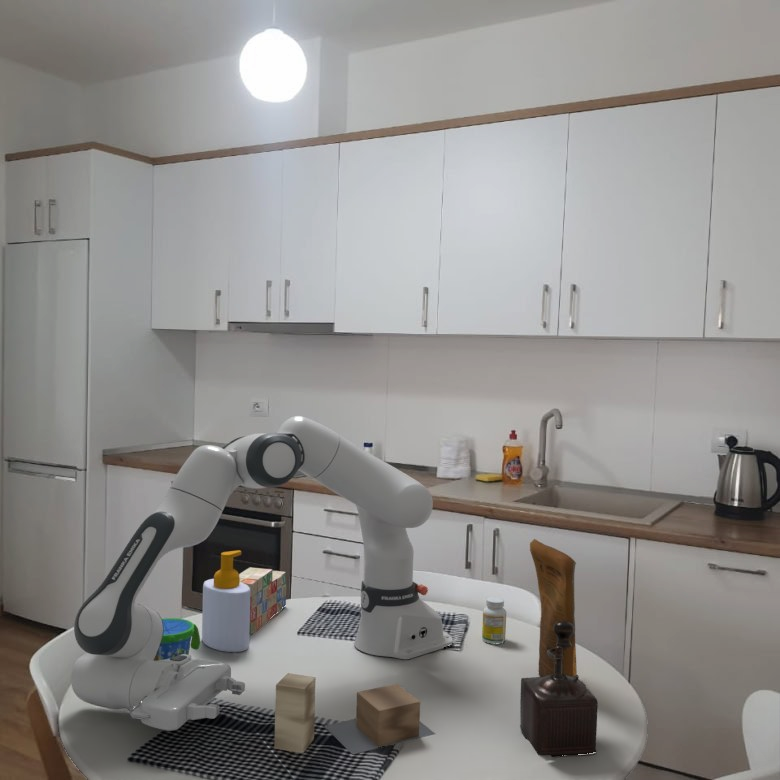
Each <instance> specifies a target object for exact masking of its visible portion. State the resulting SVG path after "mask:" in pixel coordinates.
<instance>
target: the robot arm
mask: <svg viewBox="0 0 780 780" xmlns="http://www.w3.org/2000/svg"><path fill="white" fill-rule="evenodd" d="M298 471H299V472H301V473H302V474H303V475H305V476H307V477H309V478H310V479H312V480H313V481H315V482H316V483H318V484H319V485H322V486H323V487H325V488H327V489H328V490H330V491H331V492H333V493H335V494H337V496H338V495H339V496H340V497H341V498H343V499H345V500H347V501H348V502H351V503H352V504H354V505H355V508H356V509H357V514H358V519H359V525H360V530H361V536H362V542H363V580H362V581H361V586H360V588H361V589H360V608H361V613H360V619H359V624H358V628H357V629H358V630H357V633H356V637H355V638H354V639H355V640H354V643H353V644H354V647H355V648H356V649H357V650H359V651H361V652H363V653H366V654H368V655H372V656H378V657H379V656H380V657H390V658H395V659H400V660H409V659H414V658H416V657H419V656H422V655H426V654H429V653H433V652H436V651H438V650H439V651H440V650H442V649H444V647H446V646H448V645H449V644H452V643H453V644H454V641H453V637H452V636H451V635H450V634H449V633H448V632H447V631H445V630H444V627H443V626H444V625H443V620H442V617H441V616H440V614H439V612H438V611H436V610H435V609H433V608H432V607H431V606H430V605H428V603H426V602H425V601H424V600H423V599H421V598H420V595H422V596H426V595H427V594H428V592H429V588H428V587H427V586H426V585H424V584H418V583H416V582H415V581H413V580H414V579H413V577H414V576H413V575H414V552H415V551H414V548H413V545H412V543H411V541H410V538H409V536H408V533H407V529H413V528H418V527H421V526H422V525H424V524H425V523H426V522H427V521H429V518H430V516H431V515H432V513H433V512H432V511H433V507H434V501H433V496H432V493H431V492H430V490H429V489H428V488H427V487H426V486H424V485H423V484H422V483H421V482H419V481H418V480H417V479H415V478H413V477H411V476H410V475H408V474H407V473H405V472H403V471H401V470H400V469H397V467H395V466H393V465H391V464H389V463H388V462H386V461H384V460H382V459H381V458H379V457H377V456H375V455H373V454H371V453H369V452H367V451H365V450H364V449H363V448H361V447H359V446H358V445H356V444H355V443H353V442H352V441H351V440H348V439H347V438H346V437H344V436H343V435H341V434H340V433H338V432H336V431H334V430H333V429H331V428H330V427H327V426H326V425H324V424H322V423H320V422H317V421H316V420H313V419H311V418H308V417H306V416H302V415H294V416H292V417H290V418H287V419H286V420H285V421H284V422H283V423H282V424H281V425H280V426H279V428H278V430H277V432H269V433H268V432H266V433H265V432H264V433H263V432H262V433H252V434H249V435H246V436H241V437H236V438H234V439H233V440H231V441H229V443H226V444H225V445H224V446H223V447H220V446H217V445H213V444H212V445H211V444H206V445H200V446H198V447H197V448H195V449H194V450H193V451H192V453H191V454H190V455H189V457H188V458H186V460H185V462H184V463H183V465H182V466H181V467H180V469H179V471H178V472H177V474H176V476H175V477H174V478H173V481H172V483H171V484H170V486H169V489H168V491H167V492H166V494H165V496H164V498H163V499H162V501H161V502H160V503H159V505H158V507H157V508H156V509H155V510H154V512H152V513H151V514H150V515H148V517H146V518H145V519H144V520H143V522H142V523H141V524H140V525H139V527H138V528H137V530H136V531H135V532H134V534H133V535H132V537H130V540H129V541H128V543H127V545H126V546H125V548H124V549H123V551H122V552H121V553H120V556H119V557H118V558H117V560H116V561H115V563H114V564H113V566H112V568H111V569H110V571H109V572H108V574H107V576H106V577H105V579H104V580H103V581H102V583H101V584H100V586H99V587H98V588H97V589H95V591H94V592H93V593H92V594H91V595H90V596H89V597H88V598H86V600H85V601H84V602H83V603H82V605H81V606H80V608H79V609H78V611H77V614H76V616H75V620H74V626H73V627H74V628H73V631H74V638H75V640H76V643H77V644H78V646H79V647H80V649H81V650H83V651H84V652H85V653H84V654H83V655H80V656H79V657H78V658H77V659H76V660H75V663H73V666H72V671H71V675H70V682H71V688H72V691H73V693H74V694H75V696H76V697H77V698H78V699H79V700H81V701H82V702H85V703H86V704H90V705H93V706H97V707H100V708H105V709H110V710H121V709H123V710H128V711H129V715H130V717H131V718H132V719H137V720H140V722H141V724H143V725H145V726H149V727H152V728H155V729H159V730H163V731H167V732H171V731H177V730H179V729H180V728H181V727H182V726H183V725H184V724H185V723H186V722H188V721H189V720H192V721H195V720H201V719H206V718H207V719H211V720H212V719H215V718H217V717H218V716H219V715H220V705H219V704H216V703H210V702H211V701H212V700H213V699H215V698H216V697H217V696H218V695H219V694H220V693H221V692H223V691H225V692H227V691H230V692H231V694H232V695H237V696H240V695H242V694H243V693H244V692H245V691H246V683H245V682H244V681H239V680H236V679H234V677H232V667H231V665H229V664H228V663H226V662H222V661H217V660H213V659H207V658H206V659H205V658H193V659H192V655H190V654H189V655H187V654H182V655H179V656H176V657H173V658H170V659H165V660H158V661H154V659H155V657H156V654H157V652H158V649H159V647H160V644H161V641H162V638H163V633H164V626H163V621H162V619H163V618H162V617H161V616H160V614H159V613H158V612H157V611H156V610H155V609H153V608H150V607H148V606H145V605H143V604H140V603H136V598H137V596H138V595H139V593H140V591H141V590H142V589H143V587H144V585H145V584H146V582H147V580H148V578H149V577H150V576H151V574H152V572H153V570H155V567H156V566H157V564H158V562H159V561H160V560H161V559H162V558H163V557H164V556H165V555H167V554H168V553H170V552H172V551H175V550H178V549H181V548H190V547H193V546H195V545H199V544H200V543H202V542H204V541H205V540H207V538H208V537H209V536H210V535H211V533H212V532H213V530H214V529H215V528H216V525H218V522H219V520H220V517H221V516H222V513H223V511H224V509H225V507H226V504H227V502H228V501H229V498H230V496H231V495H232V493H233V492H234V491H235V490H236V489H237V488H248V489H255V490H256V489H257V490H259V489H273V488H278V487H280V486H283V485H285V484H286V483H288V482H289V481H291V479H292V478H293V477H294V476H295V475H296V474H297V472H298ZM419 594H420V595H419ZM446 648H447V647H446Z"/></svg>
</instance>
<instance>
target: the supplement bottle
mask: <svg viewBox="0 0 780 780" xmlns="http://www.w3.org/2000/svg"><path fill="white" fill-rule="evenodd" d="M504 604H505V600H504V599H503V598H501V597H496V596H495V597H494V596H493V597H491V596H490V597H487V598H486V606H485V607H484V608H483V612H482V631H481V635H482V636H481V639H482V642H484V641H485V642H484V643H486V642H487V643H486V644H489V643H495V644H494V645H497V644H496V643H502V642H504V641H505V642H506V633H507V629H506V627H507V610H506V609H505V608H504V606H505V605H504ZM505 642H504V643H505ZM502 644H503V643H502Z"/></svg>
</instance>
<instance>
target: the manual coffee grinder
mask: <svg viewBox="0 0 780 780" xmlns="http://www.w3.org/2000/svg"><path fill="white" fill-rule="evenodd" d="M553 631H554V633H555V634H556V636H557V638H558V642H557V644H556V646H557V647H556V648H553V649H549V650H547V655H548V656H549V657H551V658H552V659H556V674H552V675H548V676H546V677H540V676H535V677H534V676H533V677H532V676H531V677H522V678H521V680H520V701H519V702H520V704H519V705H520V710H519V711H520V712H519V714H520V716H519V717H520V718H519V719H520V724H519V727H520V732H521V734H522V735H523V737H524V739H525V740H527V741H528V742H529V744H531V746H532V748H533V749H534V751H535V752H536V754H537V755H538V756H550V757H552V758H555V757H554V756H560V757H565V756H564V755H578V754H587V753H588V754H589V753H593V752H597V731H598V728H597V727H598V707H599V706H598V699H597V698H596V697H595V695H594V694H593V693H592V692H591V691H590V689H588V687H587V685H586V683H584V682H583V681H582V680H580V679H579V675H578V674H577V675H576V676H567V675H565V674H564V673H563V674H561V664H562V659H563V655H562V652H563V651H565V650H566V649H567V648H568V647H571V646H572V645H571V643H570V638H571V635H572V634H573V633H574V627H573V625H572V624H571V623H570V622H567V621H559V622H557V623H555V625H554V627H553ZM553 653H556V654H553ZM562 755H563V756H562Z"/></svg>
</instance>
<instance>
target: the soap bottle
mask: <svg viewBox="0 0 780 780" xmlns="http://www.w3.org/2000/svg"><path fill="white" fill-rule="evenodd" d="M241 555H242V551H241V550H240V549H239V550H231V551H223V552H221V553H220V569H219V570H217V571H215V573H214V575H213V578H210V579H207V580H204V582H203V585H202V622H201V623H202V625H201V640H202V642H203V643H204V645H206V646H207V647H209V648H210V649H213V650H216V651H220V652H226V653H239V652H240V653H241V652H244V651H246V650H248V649H249V646H250V635H249V627H250V588H249V587H248V586H247V585H246V584H244V583H242V582H240V577H239V574H240V573H239V572H238V570H236V569H235V568H234V558H236V557H239V556H241Z"/></svg>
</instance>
